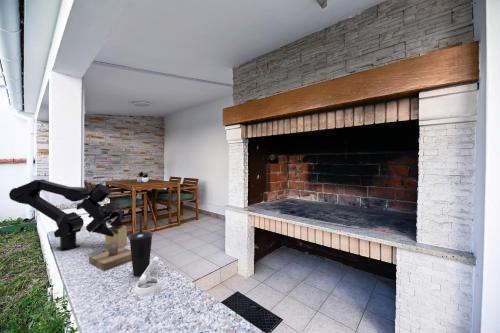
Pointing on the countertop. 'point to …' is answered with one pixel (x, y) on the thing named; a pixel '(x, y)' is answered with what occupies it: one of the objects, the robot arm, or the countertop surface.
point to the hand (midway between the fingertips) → (119, 232)
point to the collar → (117, 236)
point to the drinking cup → (140, 250)
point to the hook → (148, 280)
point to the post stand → (111, 257)
